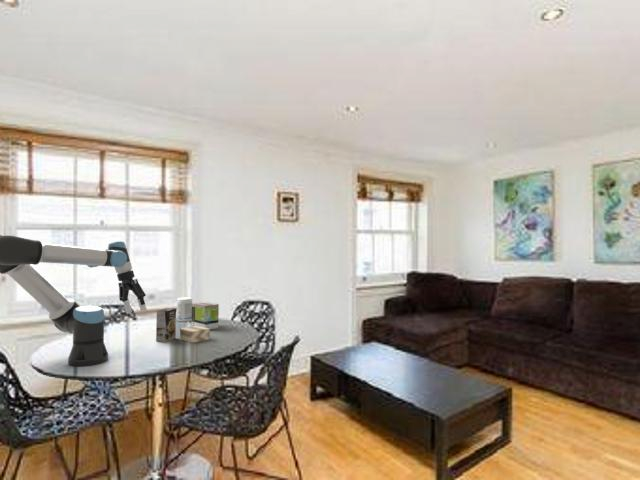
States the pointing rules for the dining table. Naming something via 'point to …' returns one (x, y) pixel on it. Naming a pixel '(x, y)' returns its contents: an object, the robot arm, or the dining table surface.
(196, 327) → the birch block
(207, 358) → the dining table surface
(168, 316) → the coffee box
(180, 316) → the supplement tub
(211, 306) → the tea box
